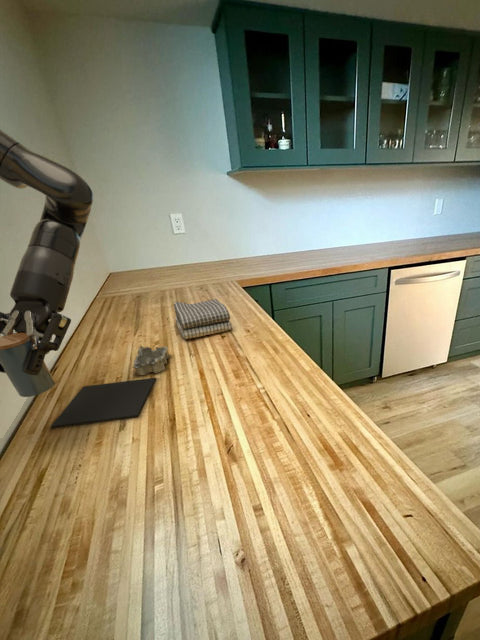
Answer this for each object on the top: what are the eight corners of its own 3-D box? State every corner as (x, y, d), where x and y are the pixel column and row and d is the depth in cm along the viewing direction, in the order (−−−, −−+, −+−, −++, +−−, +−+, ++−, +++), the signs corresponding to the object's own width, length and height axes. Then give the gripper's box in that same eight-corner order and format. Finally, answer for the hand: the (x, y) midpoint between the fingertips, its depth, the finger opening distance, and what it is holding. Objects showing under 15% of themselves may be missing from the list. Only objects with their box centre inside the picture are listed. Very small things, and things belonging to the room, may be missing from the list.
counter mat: (51, 428, 67) (50, 426, 67) (84, 388, 80) (83, 386, 80) (138, 417, 68) (137, 414, 68) (156, 379, 81) (155, 377, 81)
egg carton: (144, 358, 92) (140, 344, 90) (172, 354, 93) (168, 341, 91) (133, 377, 83) (127, 362, 81) (164, 373, 84) (159, 358, 82)
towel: (184, 343, 99) (178, 318, 95) (175, 324, 113) (169, 301, 109) (234, 331, 104) (230, 306, 100) (219, 314, 118) (215, 292, 114)
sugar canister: (10, 399, 56) (-22, 348, 51) (30, 382, 61) (2, 334, 56) (45, 395, 57) (17, 344, 52) (61, 378, 61) (37, 330, 57)
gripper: (-10, 269, 57) (-43, 365, 53) (58, 267, 54) (27, 369, 50) (33, 290, 64) (6, 376, 60) (95, 290, 61) (70, 380, 57)
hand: (16, 372), depth 55 cm, fingers closed on sugar canister, 5 cm apart
